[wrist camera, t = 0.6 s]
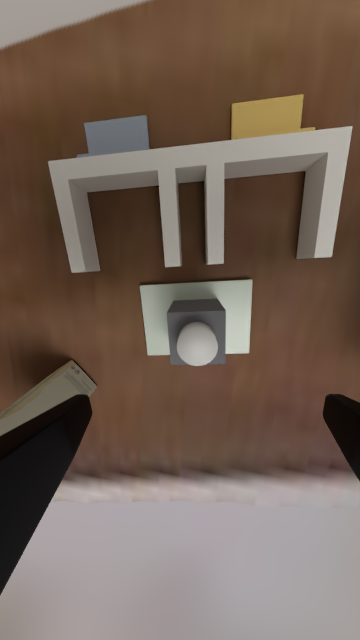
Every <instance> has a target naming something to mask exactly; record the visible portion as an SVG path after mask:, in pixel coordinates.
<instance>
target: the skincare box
mask: <svg viewBox="0 0 360 640" xmlns="http://www.w3.org/2000/svg"><path fill="white" fill-rule="evenodd" d="M96 388H97V386H96V384H95V383H94V382H93V381H92V380H91V379H90V378H89V377H88V376H87V375H86V374H85V373H84V372H83V371H82V370H81V369H80V367H79V366H78V365H77V364H76V363H75V362H74V361H73V360H70V361H69V362H67V363H66V364H65V365H63V366H62V367H60V368H59V369H57V370H56V371H55V372H53V373H52V374H50V375H49V376H48V377H46V378H45V379H44V380H42V381H41V382H40V383H38V384H37V385H36V386H35V387H33V388H32V389H31V390H29V391H28V392H27V393H26V394H24V395H23V396H22V397H20V398H19V399H18V400H17V401H15V402H14V403H13V404H12V405H10V406H9V407H8V408H7V409H5V410H4V411H3V412H1V413H0V436H1V435H3V434H5V433H7V432H8V431H10V430H12V429H14V428H16V427H18V426H19V425H21V424H23V423H25V422H27V421H29V420H30V419H32V418H34V417H36V416H38V415H40V414H42V413H43V412H45V411H47V410H49V409H51V408H53V407H54V406H56V405H58V404H60V403H62V402H64V401H65V400H67V399H69V398H71V397H73V396H75V395H77V394H86V395H88V396H89V397H90V396H91V394H92V393H93V392H94V391H95V389H96Z"/></svg>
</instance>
